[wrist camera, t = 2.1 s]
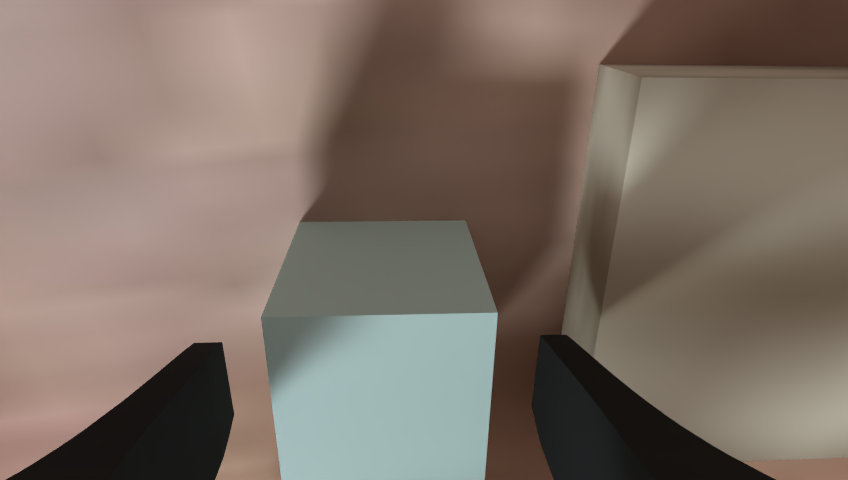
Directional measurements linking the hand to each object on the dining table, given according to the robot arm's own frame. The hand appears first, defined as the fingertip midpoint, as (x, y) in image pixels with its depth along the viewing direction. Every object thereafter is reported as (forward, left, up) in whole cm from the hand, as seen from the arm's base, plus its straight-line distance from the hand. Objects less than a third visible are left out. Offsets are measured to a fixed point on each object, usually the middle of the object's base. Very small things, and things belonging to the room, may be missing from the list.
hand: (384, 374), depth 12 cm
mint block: (0, 0, -4) cm, 4 cm away
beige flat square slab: (+1, -11, -4) cm, 12 cm away
